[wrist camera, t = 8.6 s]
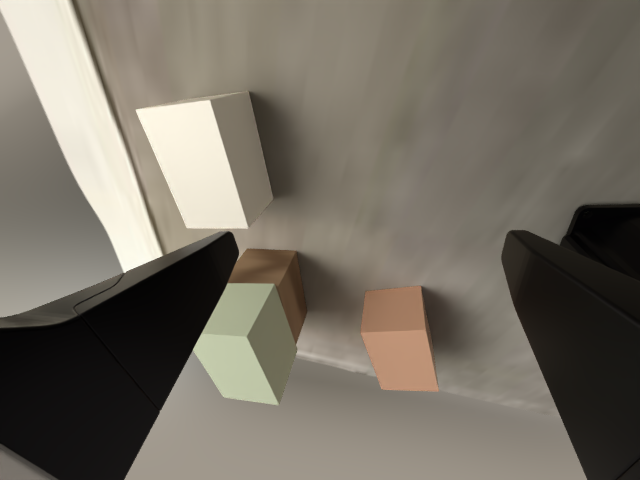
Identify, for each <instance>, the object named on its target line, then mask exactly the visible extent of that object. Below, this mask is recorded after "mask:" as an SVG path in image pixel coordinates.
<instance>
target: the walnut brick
mask: <svg viewBox="0 0 640 480" xmlns="http://www.w3.org/2000/svg"><path fill="white" fill-rule="evenodd" d="M228 283H255V284H275V286H276V289H277V292H278V295H279V298H280V301H281V303H282V306H283V309H284V312H285V315H286V318H287V321H288V324H289V327H290V329H291V332H292V335H293V338H294V341H295V344H296V343H297V340H298V337H299V335H300V332H301V329H302V326H303V323H304V320H305V317H306V314H307V308H306V302H305V297H304V291H303V285H302V280H301V274H300V269H299V263H298V257H297V252H296V251H289V250H267V249H246V251H245V252H244V253H243V255H242V256H241V257H240V259H239V260H238V261H237V262H236V264H235V266H234V269H233V271H232V274H231V276H230V279H229V281H228Z"/></svg>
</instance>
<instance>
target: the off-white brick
mask: <svg viewBox="0 0 640 480" xmlns="http://www.w3.org/2000/svg"><path fill="white" fill-rule="evenodd" d="M136 112H137V114H138V117H139V119H140V121H141V123H142V126H143V128H144V130H145V133H146V135H147V137H148V140H149V142H150V144H151V146H152V149H153V151H154V153H155V156H156V158H157V160H158V163H159V165H160V167H161V169H162V172H163V174H164V176H165V179H166V181H167V183H168V185H169V188H170V190H171V192H172V195H173V197H174V199H175V202H176V204H177V206H178V208H179V211H180V213H181V215H182V218H183V220H184V222H185V225H186V227H187V228H249V227H250V226H251V225H252V224H253V222H254V221H255V220H256V219H257V218H258V217H259V215H260V214H261V213H262V212H263V211H264V210H265V208H266V207H267V206H268V205H269V204H270V202H271V201H272V200H273V195H272V190H271V186H270V182H269V177H268V173H267V169H266V164H265V160H264V156H263V151H262V147H261V143H260V138H259V134H258V129H257V125H256V121H255V116H254V112H253V108H252V103H251V99H250V95H249V91H244V92H237V93H229V94H222V95H214V96H207V97H199V98H192V99H185V100H180V101H175V102H171V103H166V104H161V105H156V106H151V107H146V108H141V109H136Z"/></svg>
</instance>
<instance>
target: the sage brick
mask: <svg viewBox="0 0 640 480" xmlns="http://www.w3.org/2000/svg"><path fill="white" fill-rule="evenodd" d="M193 351H194V352H195V354H196V355H197V357H198V358H199V360H200V361H201V363H202V365H203V366H204V368H205V369H206V371H207V372H208V374H209V375H210V377H211V378H212V380H213V382H214V383H215V385H216V386H217V388H218V389H219V391H220V392H221V394H222V395H223V397H225V398H233V399H239V400H247V401H253V402H260V403H267V404H274V405H279V404H280V401H281V398H282V395H283V392H284V389H285V386H286V383H287V380H288V377H289V374H290V371H291V368H292V365H293V362H294V359H295V356H296V353H297V347H296V344H295V341H294V338H293V335H292V332H291V329H290V327H289V324H288V321H287V318H286V315H285V312H284V309H283V306H282V303H281V301H280V298H279V295H278V292H277V289H276V286H275V284H255V283H228V284H227V286H226V288H225V290H224V292H223V294H222V296H221V298H220V300H219V302H218V304H217V306H216V307H215V309H214V311H213V313H212V315H211V317H210V319H209V321H208V322H207V324H206V326H205V328H204V330H203V332H202V334H201V336H200V338H199V339H198V341H197V343H196V345H195V347H194V349H193Z"/></svg>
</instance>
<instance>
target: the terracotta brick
mask: <svg viewBox="0 0 640 480" xmlns="http://www.w3.org/2000/svg"><path fill="white" fill-rule="evenodd" d="M360 333H361V336H362V338H363V341H364V343H365V346H366V349H367V351H368V354H369V357H370V359H371V362H372V365H373V367H374V370H375V373H376V375H377V378H378V381H379V383H380V386H381V388H382V390H409V391H410V390H411V391H439V389H438V381H437V373H436V366H435V358H434V351H433V344H432V339H431V334H430V329H429V324H428V319H427V314H426V309H425V304H424V299H423V294H422V289H421V286H414V287H404V288H393V289H383V290H373V291H366V292H365V300H364V308H363V316H362V324H361V332H360Z"/></svg>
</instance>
